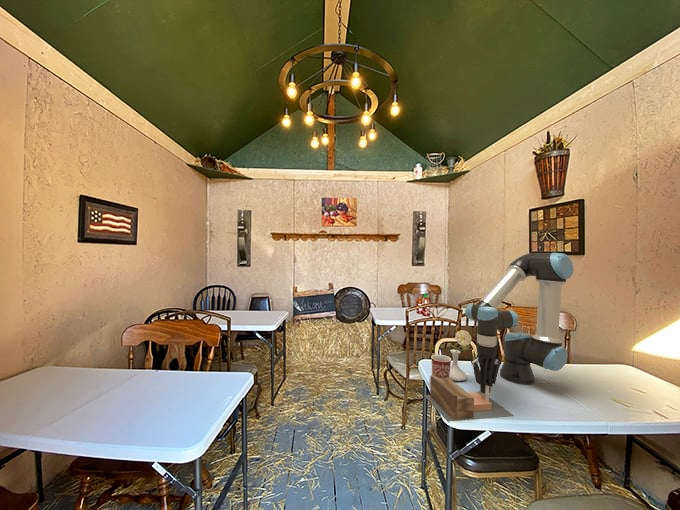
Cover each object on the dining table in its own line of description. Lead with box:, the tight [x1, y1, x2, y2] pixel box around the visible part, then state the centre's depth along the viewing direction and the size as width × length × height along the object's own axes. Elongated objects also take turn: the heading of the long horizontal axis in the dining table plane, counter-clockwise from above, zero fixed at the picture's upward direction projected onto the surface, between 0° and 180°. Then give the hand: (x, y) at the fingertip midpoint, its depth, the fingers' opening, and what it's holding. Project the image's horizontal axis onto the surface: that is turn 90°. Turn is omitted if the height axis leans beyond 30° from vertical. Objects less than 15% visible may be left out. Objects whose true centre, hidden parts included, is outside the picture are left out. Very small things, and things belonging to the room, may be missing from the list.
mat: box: [423, 391, 515, 423], centre depth 120 cm, size 28×20×1 cm
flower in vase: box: [449, 329, 473, 382], centre depth 146 cm, size 13×11×25 cm
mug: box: [430, 354, 452, 378], centre depth 139 cm, size 13×9×14 cm
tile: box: [466, 391, 492, 411], centre depth 120 cm, size 14×10×3 cm
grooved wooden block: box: [429, 374, 474, 419], centre depth 118 cm, size 9×18×9 cm, turn 10°
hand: (485, 400), depth 121 cm, fingers closed
